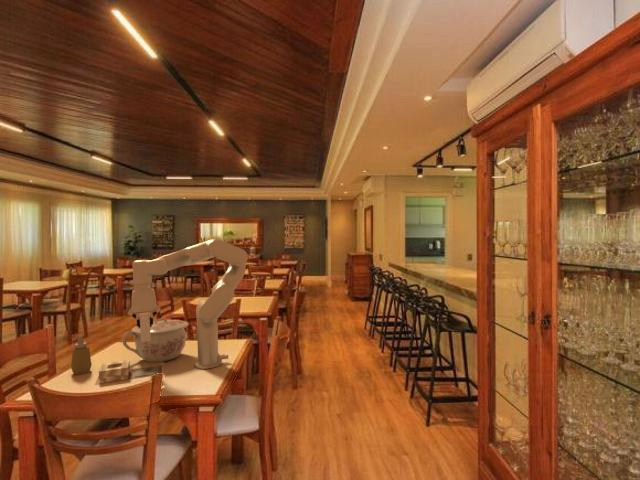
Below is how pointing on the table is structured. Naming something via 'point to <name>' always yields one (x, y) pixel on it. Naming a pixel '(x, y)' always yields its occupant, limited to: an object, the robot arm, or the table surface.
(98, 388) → the table surface
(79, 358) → the squeeze bottle
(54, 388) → the table surface
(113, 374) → the socket board
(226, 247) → the robot arm
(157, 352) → the chamber pot
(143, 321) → the steel peg
